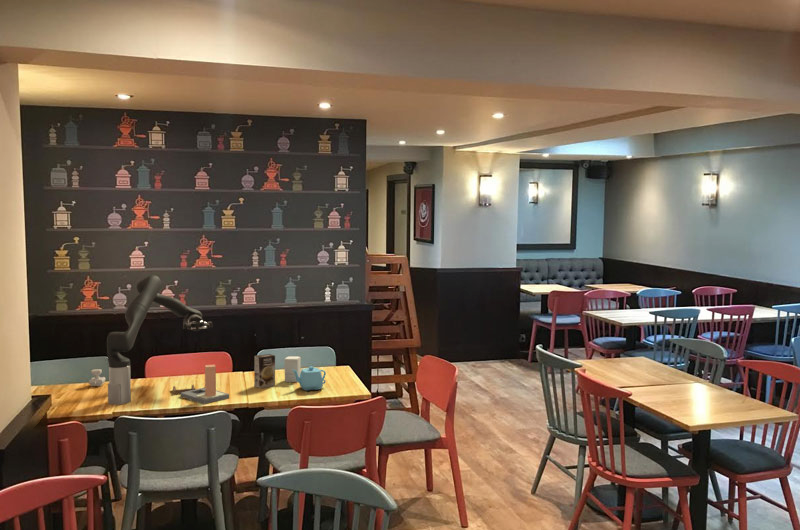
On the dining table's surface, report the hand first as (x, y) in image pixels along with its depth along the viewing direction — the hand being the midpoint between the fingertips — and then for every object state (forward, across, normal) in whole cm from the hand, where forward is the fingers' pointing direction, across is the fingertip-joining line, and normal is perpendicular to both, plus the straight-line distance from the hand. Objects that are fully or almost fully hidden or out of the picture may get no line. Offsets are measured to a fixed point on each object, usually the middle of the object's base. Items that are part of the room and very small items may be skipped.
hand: (199, 327), depth 326 cm
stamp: (-28, -48, +32) cm, 64 cm away
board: (+16, +1, +32) cm, 36 cm away
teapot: (+18, +52, +32) cm, 64 cm away
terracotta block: (+20, +3, +30) cm, 36 cm away
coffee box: (+4, +32, +32) cm, 46 cm away
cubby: (0, -8, +32) cm, 33 cm away
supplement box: (-2, +48, +32) cm, 58 cm away
